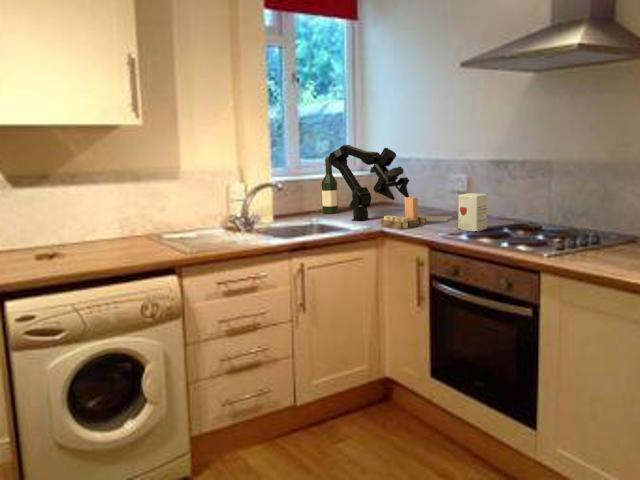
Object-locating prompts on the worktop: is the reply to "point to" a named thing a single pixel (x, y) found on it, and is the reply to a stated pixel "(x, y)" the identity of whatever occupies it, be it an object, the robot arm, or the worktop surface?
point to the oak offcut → (402, 219)
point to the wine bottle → (329, 191)
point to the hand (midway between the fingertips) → (401, 198)
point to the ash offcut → (390, 218)
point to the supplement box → (472, 212)
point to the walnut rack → (399, 225)
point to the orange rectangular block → (411, 207)
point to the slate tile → (437, 218)
